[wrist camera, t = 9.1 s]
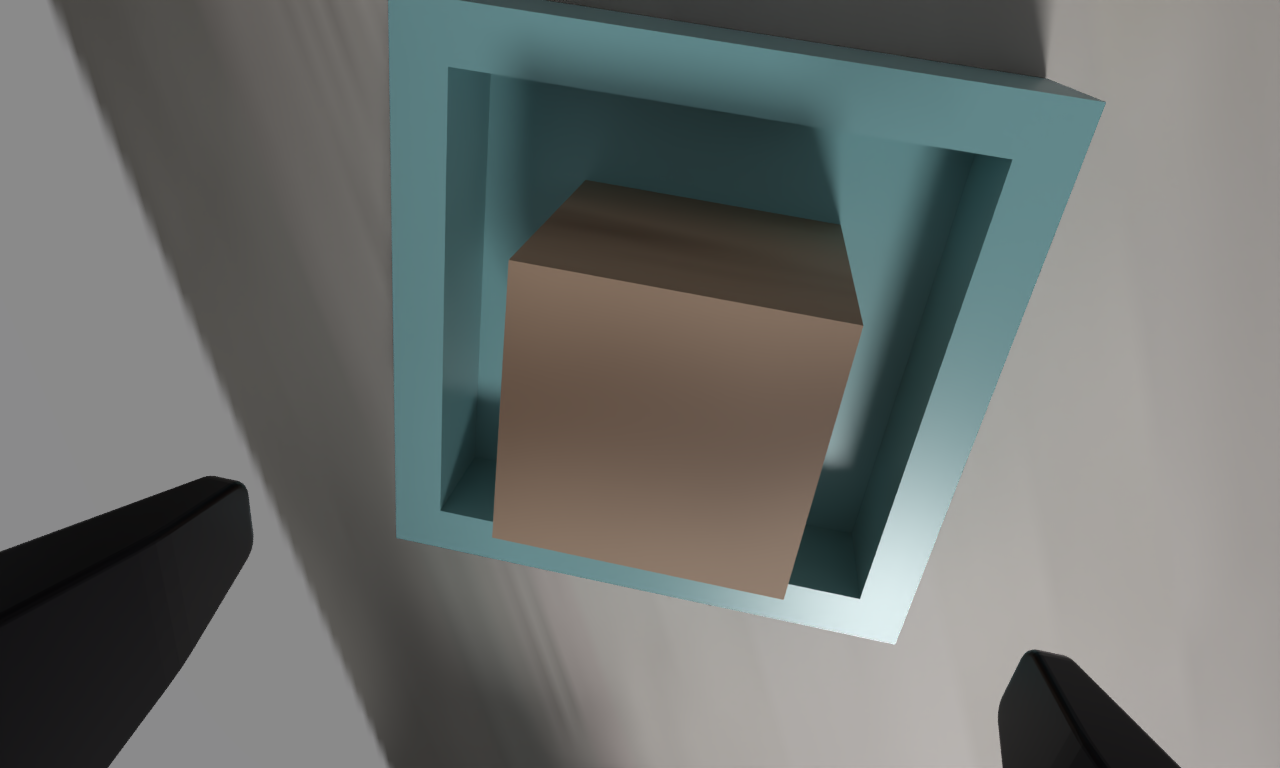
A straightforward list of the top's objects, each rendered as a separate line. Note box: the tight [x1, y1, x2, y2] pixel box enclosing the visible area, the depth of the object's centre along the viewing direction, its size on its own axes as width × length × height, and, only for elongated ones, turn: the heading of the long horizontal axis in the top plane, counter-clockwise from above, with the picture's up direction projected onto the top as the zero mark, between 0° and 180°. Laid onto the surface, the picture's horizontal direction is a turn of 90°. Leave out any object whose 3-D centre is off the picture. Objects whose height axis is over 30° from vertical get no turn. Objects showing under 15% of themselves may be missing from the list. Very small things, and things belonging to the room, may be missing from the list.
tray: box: [388, 0, 1106, 644], centre depth 16 cm, size 11×11×3 cm
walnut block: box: [492, 180, 863, 600], centre depth 14 cm, size 5×5×5 cm
